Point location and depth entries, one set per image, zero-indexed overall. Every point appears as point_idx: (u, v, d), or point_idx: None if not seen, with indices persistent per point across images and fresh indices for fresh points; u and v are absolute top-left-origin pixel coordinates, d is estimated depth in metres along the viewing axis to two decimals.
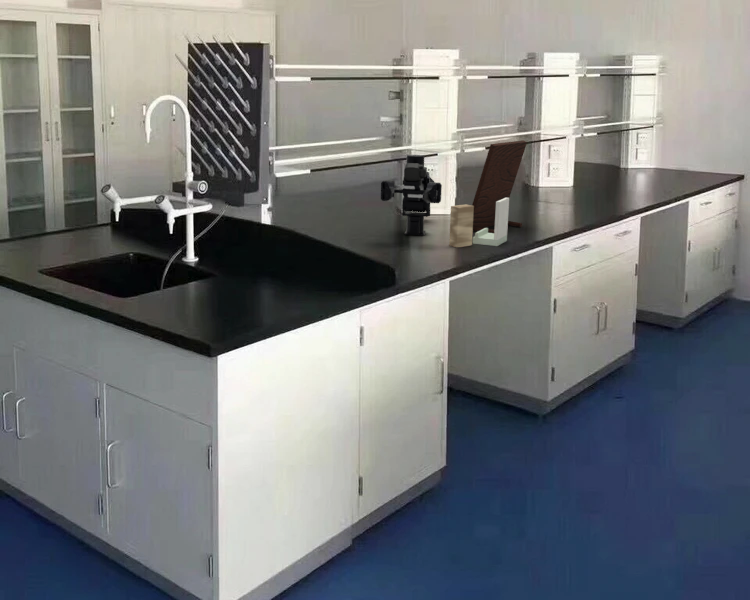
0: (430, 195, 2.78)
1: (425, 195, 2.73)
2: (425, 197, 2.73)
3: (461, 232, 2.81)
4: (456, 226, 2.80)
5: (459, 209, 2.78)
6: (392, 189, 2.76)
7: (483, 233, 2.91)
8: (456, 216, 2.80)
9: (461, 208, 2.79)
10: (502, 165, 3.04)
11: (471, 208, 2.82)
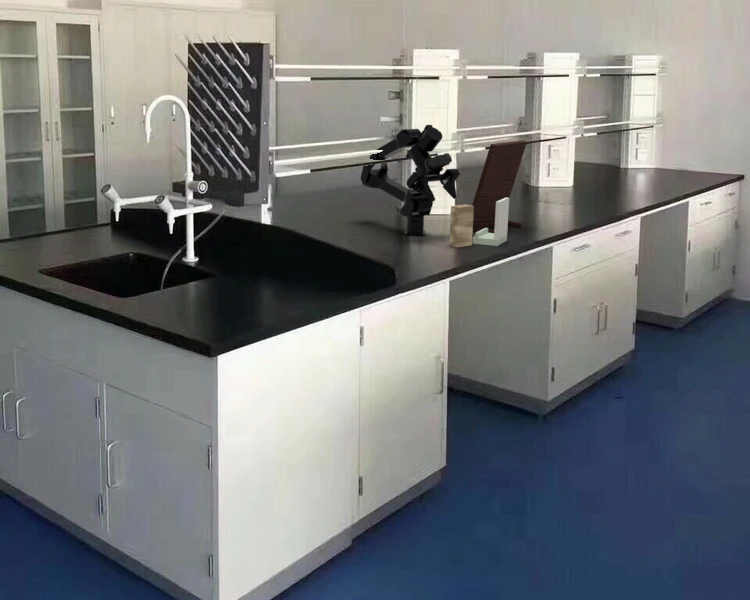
0: None
1: None
2: None
3: (461, 232, 2.81)
4: (456, 226, 2.80)
5: (459, 209, 2.78)
6: (429, 189, 2.84)
7: (483, 233, 2.91)
8: (456, 216, 2.80)
9: (461, 208, 2.79)
10: (502, 165, 3.04)
11: (471, 208, 2.82)
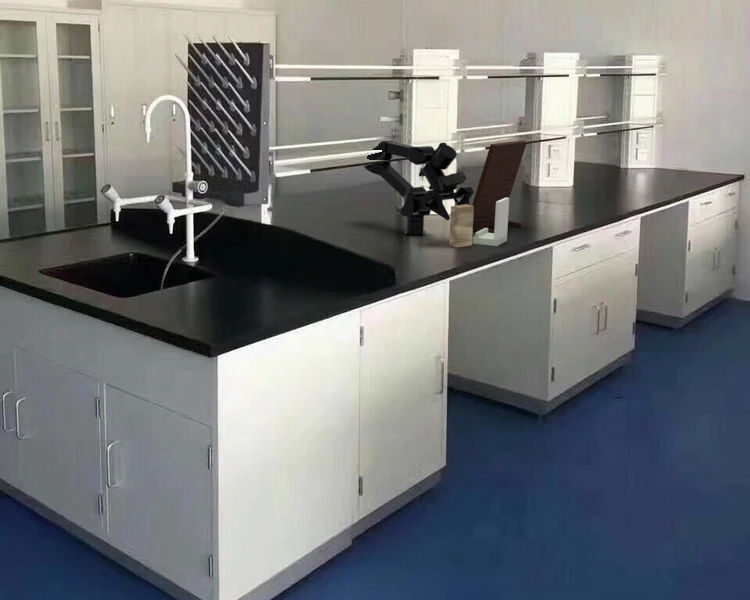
0: None
1: None
2: None
3: (461, 232, 2.81)
4: (456, 226, 2.80)
5: (459, 209, 2.78)
6: (444, 208, 2.80)
7: (483, 233, 2.91)
8: (456, 216, 2.80)
9: (461, 208, 2.79)
10: (502, 165, 3.04)
11: (471, 208, 2.82)
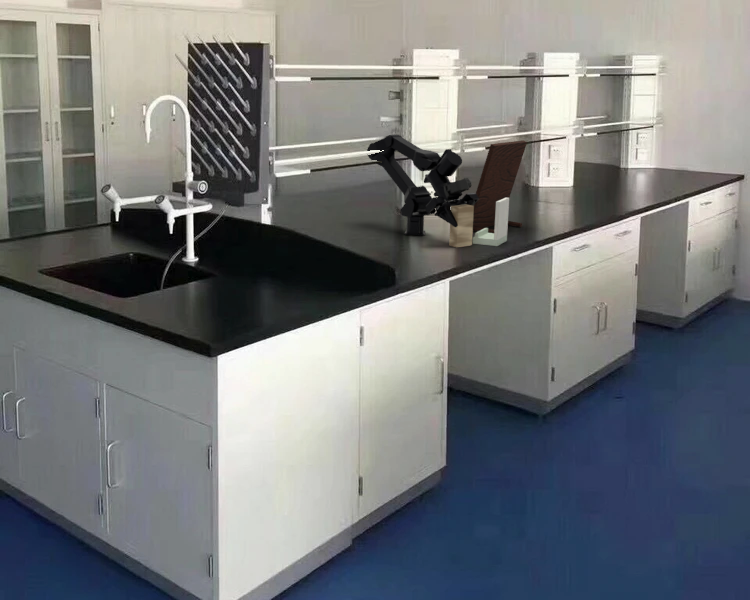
0: None
1: None
2: None
3: (461, 232, 2.81)
4: None
5: (459, 209, 2.78)
6: (452, 215, 2.80)
7: (483, 233, 2.91)
8: (456, 216, 2.80)
9: (461, 208, 2.79)
10: (502, 165, 3.04)
11: (471, 208, 2.82)
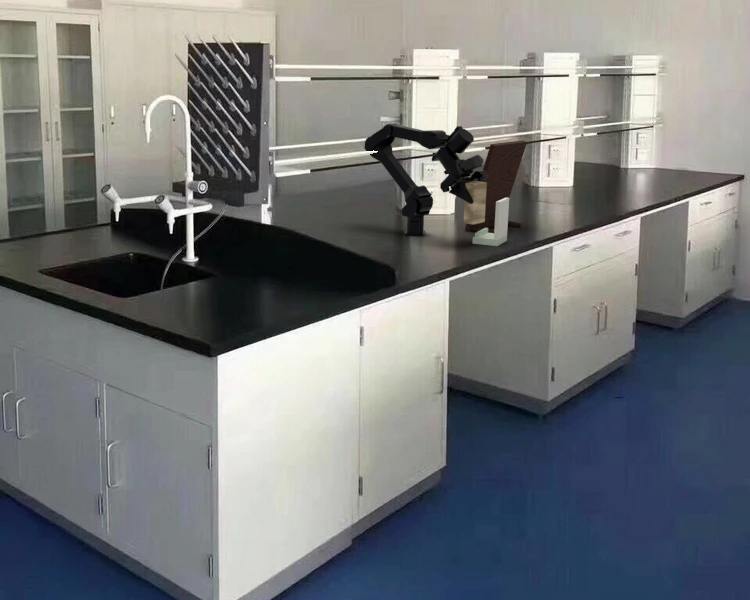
0: None
1: None
2: None
3: (476, 209, 2.81)
4: None
5: (475, 186, 2.78)
6: (467, 192, 2.79)
7: (483, 233, 2.91)
8: (471, 193, 2.79)
9: (476, 185, 2.78)
10: (502, 165, 3.04)
11: (484, 185, 2.82)
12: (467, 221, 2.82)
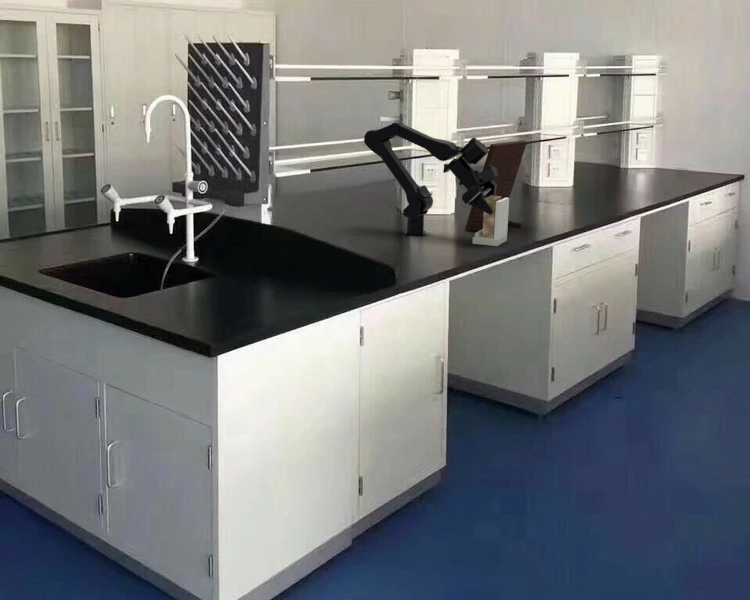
0: None
1: None
2: None
3: None
4: (492, 217, 2.85)
5: (495, 200, 2.83)
6: (486, 203, 2.82)
7: None
8: (491, 208, 2.84)
9: (496, 199, 2.84)
10: (502, 165, 3.04)
11: (500, 199, 2.88)
12: (486, 235, 2.87)
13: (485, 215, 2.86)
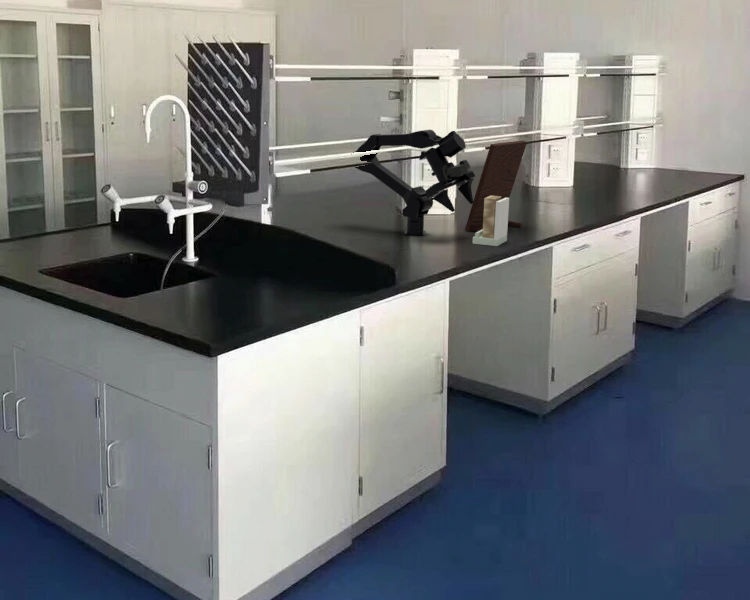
0: None
1: None
2: None
3: None
4: (492, 217, 2.85)
5: (495, 200, 2.83)
6: (449, 200, 2.86)
7: None
8: (491, 208, 2.84)
9: (496, 199, 2.84)
10: (502, 165, 3.04)
11: (500, 199, 2.88)
12: (486, 235, 2.87)
13: (485, 215, 2.86)
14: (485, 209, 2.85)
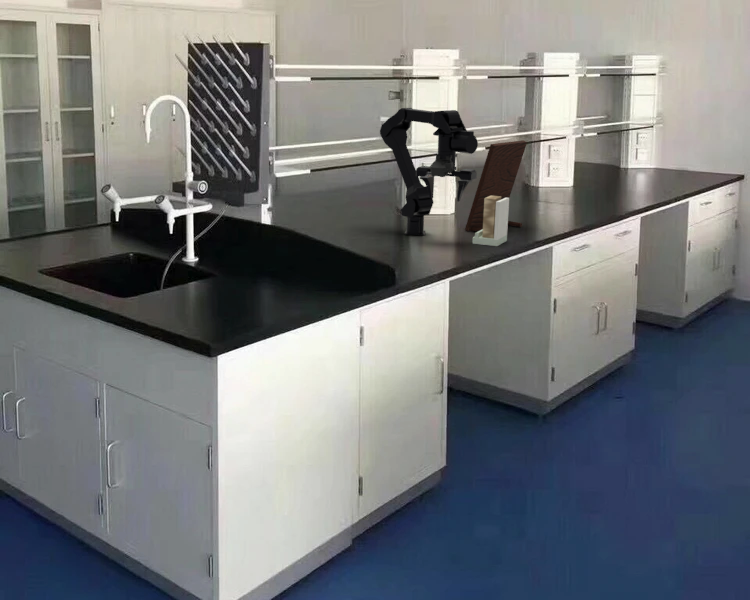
0: None
1: (459, 198, 2.86)
2: (460, 197, 2.87)
3: None
4: (492, 217, 2.85)
5: (495, 200, 2.83)
6: (428, 188, 2.89)
7: None
8: (491, 208, 2.84)
9: (496, 199, 2.84)
10: (502, 165, 3.04)
11: (500, 199, 2.88)
12: (486, 235, 2.87)
13: (485, 215, 2.86)
14: (485, 209, 2.85)
